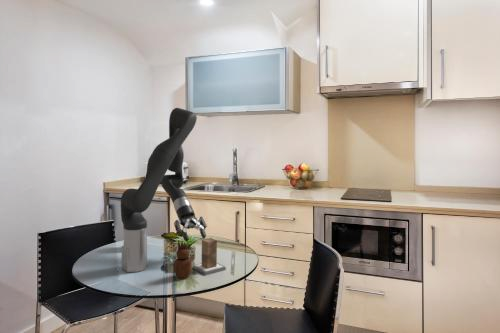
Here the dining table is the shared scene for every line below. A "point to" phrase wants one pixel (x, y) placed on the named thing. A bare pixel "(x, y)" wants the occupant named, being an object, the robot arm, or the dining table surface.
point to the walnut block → (209, 253)
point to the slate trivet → (209, 269)
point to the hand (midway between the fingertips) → (196, 239)
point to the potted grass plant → (182, 262)
